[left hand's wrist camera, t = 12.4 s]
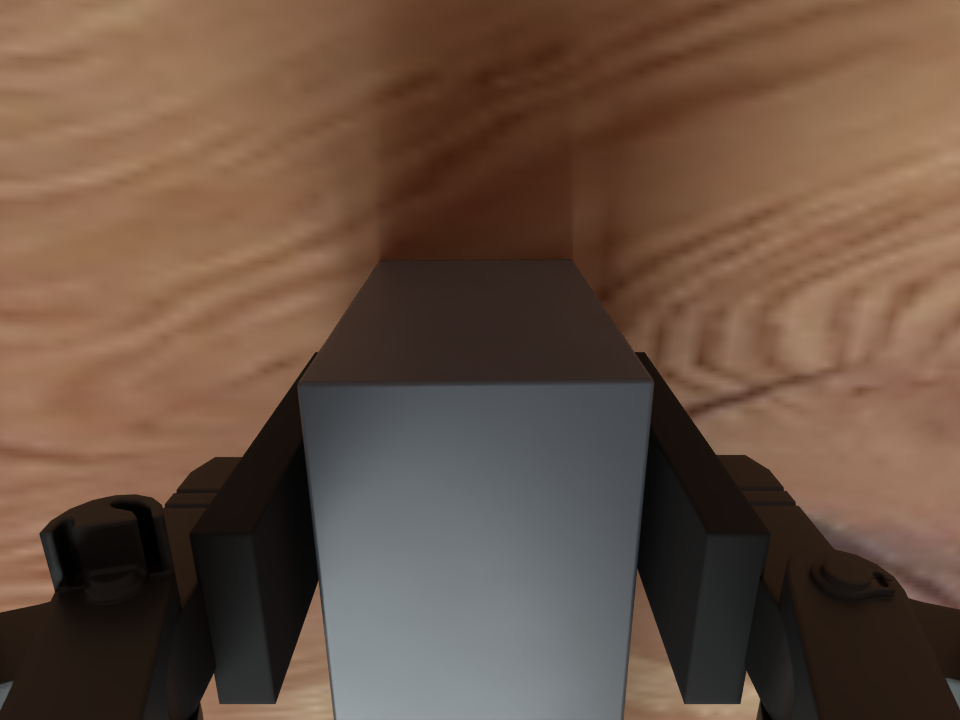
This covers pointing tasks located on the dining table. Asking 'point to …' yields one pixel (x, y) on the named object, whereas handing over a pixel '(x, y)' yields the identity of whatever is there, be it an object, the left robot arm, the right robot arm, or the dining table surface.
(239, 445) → the dining table surface
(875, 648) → the left robot arm
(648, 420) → the bar
